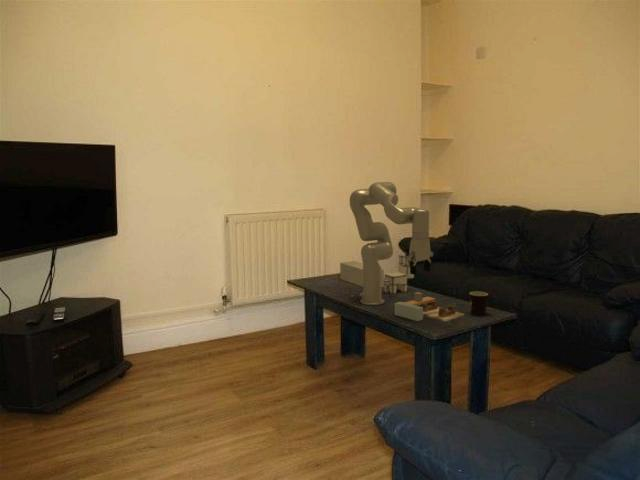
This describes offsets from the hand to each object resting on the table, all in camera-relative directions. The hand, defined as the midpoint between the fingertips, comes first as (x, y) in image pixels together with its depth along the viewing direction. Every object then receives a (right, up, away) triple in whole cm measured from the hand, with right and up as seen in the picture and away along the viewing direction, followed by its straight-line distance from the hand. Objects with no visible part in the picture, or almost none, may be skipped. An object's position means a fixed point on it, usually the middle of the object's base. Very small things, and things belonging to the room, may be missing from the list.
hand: (420, 272), depth 237 cm
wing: (+4, -19, +24) cm, 31 cm away
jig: (+11, -21, +10) cm, 25 cm away
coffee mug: (+31, -20, +11) cm, 38 cm away
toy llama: (-2, -15, +55) cm, 57 cm away
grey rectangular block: (-21, -12, +78) cm, 82 cm away
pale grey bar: (-4, -22, +6) cm, 23 cm away
